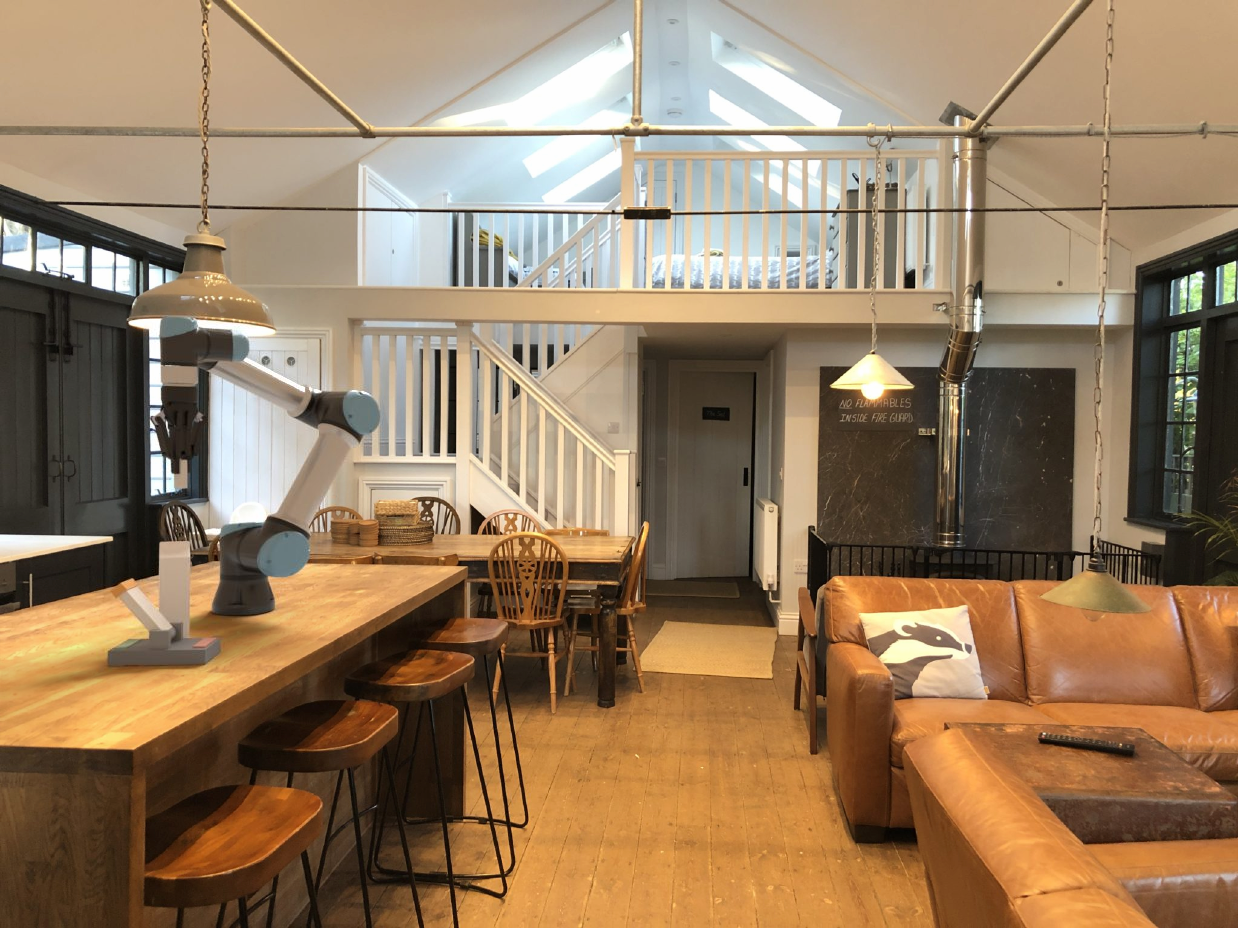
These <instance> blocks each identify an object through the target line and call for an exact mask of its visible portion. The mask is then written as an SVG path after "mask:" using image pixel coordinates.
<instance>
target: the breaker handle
mask: <svg viewBox="0 0 1238 928" xmlns="http://www.w3.org/2000/svg"><path fill="white" fill-rule="evenodd" d="M138 586H139V584H138V582H136V580H135V579H134V578H129V579H127V580H125V581H122V582H120V583H118V584H117V585H116V586H115V587H113V588H112V589H111V590H109V592H110V593H111V594H112V596H113V597H114V598H115V599H117V598H118V599H119V600H120V601H121V603H123V604H124V606H125V607H126V608H127V609H128V610H129V611H130V612H131V614H133V616H134V617H135V618H136V619H137V620H138V621H139V622H140V623H141V624H142V627H144V628H145V629H146V630H147V632H149V631H150V630H171V639H172V638H174V637H175V636H176V635H177V630H176V628H174V627H173V626H172V625H171V624H170V623H169V622H168V621H167V620H166V619H165V617H164V616H163V615H162V614H161V613H160V612H159V609H157V607H156V606H155V604H153V603H152V602H151V601H150V599H149V598H148V596H146V595H145V594H144V593H143V591H141V589H140V588H139V587H138Z"/></svg>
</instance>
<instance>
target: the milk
mask: <svg viewBox="0 0 1238 928" xmlns="http://www.w3.org/2000/svg"><path fill="white" fill-rule="evenodd" d="M158 548H159V550H158V551H159V552H158V553H159V554H158V559H159V561H158V563H159V564H158V565H159V566H158V611H159V612H160V613H161V614H162V615H163V616H164V617H165V619H166V620H167V621H168V622H183V638H190V617H191V616H190V615H191V614H190V613H191V611H190V610H191V607H190V606H191V604H190V603H191V601H190V600H191V590H190V589H191V542H190V541H189V540H185V541H184V540H183V541H182V540H180V541H176V540H174V541H160V542H159V547H158Z"/></svg>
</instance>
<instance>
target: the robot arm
mask: <svg viewBox="0 0 1238 928" xmlns="http://www.w3.org/2000/svg"><path fill="white" fill-rule="evenodd" d="M158 337H159V350H160V351H159V352H160V353H159V354H160V382H161V384H163V385H161V386H160V401H161V407H160V409H159V411H160V412H159V413H156V414H155V415H151V416H150V419H149V420H150V422H151V423H152V424H153V426H154V429H155V433H156V437H157V442H158V446H159V449H160V453H161V456H162V457H163V458H166V459H168V460H169V461H170V473H171V474H172V475H173V488H175V489H180V490H181V489H188V474H190V472H191V460H193V459H194V457H198V456H199V452H200V450H201V444H202V437H203V432H204V428H205V425H206V424H207V422H208V421H209V416H208V415H205V414H203V413H201V412H200V409H199V407H198V404H197V403H198V400H199V388H198V387H197V386H196V385H198V384H199V374H198V372H199V371H198V368H199V369H202V370H204V371H206V372H209V374H212V375H214V376H217V377H218V378H220V379H223V380H225V381H226V382H229V383H231V384H233V385H234V386H237V387H239V388H241V389H243V390H245V391H247V392H249V393H251V394H253V395H255V396H257V397H259V398H262V400H266V401H268V402H269V403H271V404H273V405H275V406H278V407H280V408H282V410H283V409H284V410H286V412H287V415H288V416H290V417H291V418H294V419H296V420H298V421H299V422H301V423H303V424H305V425H308V427H309V426H310V427H312V428H314V429H317V430H318V432H319V435H318V437H317V439H316V441H315V442H314V445H313V446H312V448H311V450H310V452H309V454H308V455H307V457H306V459H305V461H304V462H303V465H301V468H300V470H299V472H298V474H297V475H296V477H295V479H294V481H293V482H292V484H291V487H290V488H289V490H288V492H287V493H286V495H285V497H284V499H283V500H282V503H281V504H280V506H279V508H278V510H277V511H276V512H274V513H272V514H269V515H268V516H266V519H265V520H264V521H251V522H250V521H249V522H238V523H237V522H236V523H235V522H234V523H227V524H223V525H222V526H221V529H220V533H219V583H218V586H217V588H216V591H215V594H214V596H213V599H212V601H211V613H213V614H216V615H221V616H247V615H248V616H249V615H257V614H262V613H267V612H268V613H269V612H272V611H274V610H275V609H276V599H275V596H274V593H273V589H272V586H271V584H270V582H269V580H270V579H269V577H271V578H289V577H291V576H294V575H296V574H298V573H299V572H301V571H302V570H303V569H304V567H306V566H305V565H306V564H307V563H308V561H309V560H310V559H309V558H310V555H311V549H310V542H309V540H310V538H311V537H312V533H311V530H310V525H311V524H312V521H313V520H314V518H315V516H316V515H317V513H318V511H319V509H320V507H321V505H322V502H323V501H324V499H325V497H326V495H327V493H328V491H329V489H330V487H331V486H332V484H333V483H334V480H335V478H336V476H337V474H338V473H339V471H340V470H341V467H342V465H343V464H344V461H345V460H346V457H347V455H348V454H349V452H350V450H352V449H355V448H357V447H359V446H360V444H361V442H362V440H363V438H364V436H365V435H369V434H373V432H375V431H376V430H377V429H378V428H379V425H380V422H381V410H380V408H379V407H380V406H379V404H378V401H377V400H376V398H375V397H374V396H372V395H371V394H370V393H368V392H366V391H362V390H356V389H353V390H348V391H347V390H346V391H345V390H342V391H340V390H339V391H331V390H330V391H329V390H322V389H321V390H320V389H316V388H314V387H311V386H310V385H308V384H301V385H299V384H297V383H296V382H294V381H292V380H290V379H288V378H286V377H284V376H283V375H281V374H278V373H277V372H274V371H272V370H271V369H269V368H267V367H265V366H263V365H262V364H259V363H257V362H256V361H254V360H251V359H249V358H248V356H249V354H250V340H249V337H248V335H247V334H246V333H245V332H244V331H242V330H235V329H232V328H230V329H225V328H210V327H209V328H208V327H207V328H206V327H200V326H199V325H198V320H197V319H196V318H195V317H189V316H175V315H174V316H173V315H171V316H169V315H166V316H163V317H161V319H160V324H159V335H158ZM165 422H166V423H167V424H166V423H165Z"/></svg>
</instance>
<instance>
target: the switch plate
mask: <svg viewBox="0 0 1238 928" xmlns="http://www.w3.org/2000/svg"><path fill="white" fill-rule="evenodd" d="M169 623H170V624H171V625H172V626H173V627H174V628H176V630H177V635H176V636H175V637H174V638H172V639H171V630H150V631H148V638H128V639H126V640H125V641H123V642H121V643H119V644H117V645H115V646H114V647H112V648H111V649H108V650H107V667H124V665H125V667H126V665H129V666H130V665H140V666H178V665H179V666H185V665H186V666H187V665H188V666H191V665H206V664H208V663H209V662H210V661H212V659H214V658H215V657H216V656H218V655H219V654H220V653H221V652H222V638H221V637H189V638H183V622H169ZM129 666H128V667H129Z"/></svg>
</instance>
